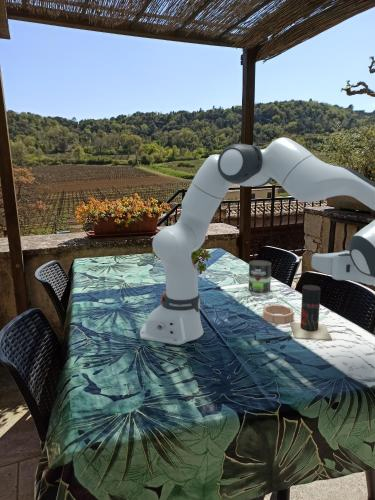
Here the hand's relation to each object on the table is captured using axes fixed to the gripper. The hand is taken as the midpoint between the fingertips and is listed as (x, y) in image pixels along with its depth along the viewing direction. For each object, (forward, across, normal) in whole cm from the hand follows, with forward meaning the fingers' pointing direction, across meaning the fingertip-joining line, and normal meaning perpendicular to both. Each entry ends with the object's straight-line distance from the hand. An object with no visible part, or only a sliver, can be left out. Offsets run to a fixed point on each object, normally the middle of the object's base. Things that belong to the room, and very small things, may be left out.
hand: (329, 254), depth 103 cm
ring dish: (+24, +3, +30) cm, 38 cm away
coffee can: (+53, -4, +30) cm, 61 cm away
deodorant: (+11, -2, +30) cm, 32 cm away
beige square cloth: (+10, -2, +30) cm, 32 cm away
